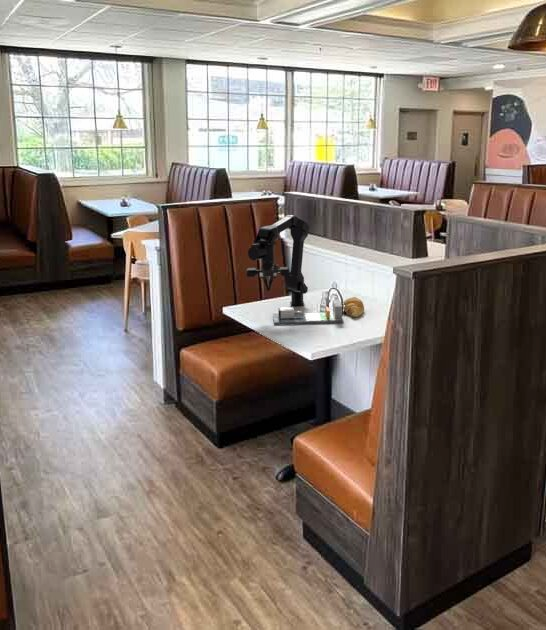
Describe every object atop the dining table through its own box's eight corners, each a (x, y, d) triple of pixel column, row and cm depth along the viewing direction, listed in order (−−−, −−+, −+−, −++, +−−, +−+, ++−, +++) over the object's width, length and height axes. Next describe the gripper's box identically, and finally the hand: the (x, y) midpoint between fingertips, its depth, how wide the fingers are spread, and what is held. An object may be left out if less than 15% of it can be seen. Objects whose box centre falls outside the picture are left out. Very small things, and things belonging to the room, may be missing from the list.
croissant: (361, 326, 278) (370, 311, 276) (341, 316, 277) (350, 301, 274) (355, 311, 298) (364, 297, 296) (337, 302, 297) (345, 287, 294)
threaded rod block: (278, 315, 279) (278, 307, 278) (302, 314, 279) (302, 306, 278) (278, 318, 274) (278, 310, 273) (303, 317, 275) (303, 309, 274)
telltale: (325, 313, 280) (325, 306, 279) (328, 313, 280) (328, 306, 279) (327, 317, 274) (327, 311, 273) (329, 317, 274) (329, 311, 273)
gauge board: (273, 316, 283) (273, 300, 281) (339, 314, 284) (339, 299, 282) (274, 325, 271) (273, 309, 269) (343, 323, 271) (343, 307, 269)
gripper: (246, 260, 267) (247, 296, 271) (289, 259, 267) (290, 295, 272) (246, 255, 277) (247, 289, 282) (288, 254, 278) (289, 288, 282)
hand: (268, 290), depth 279 cm, fingers closed
